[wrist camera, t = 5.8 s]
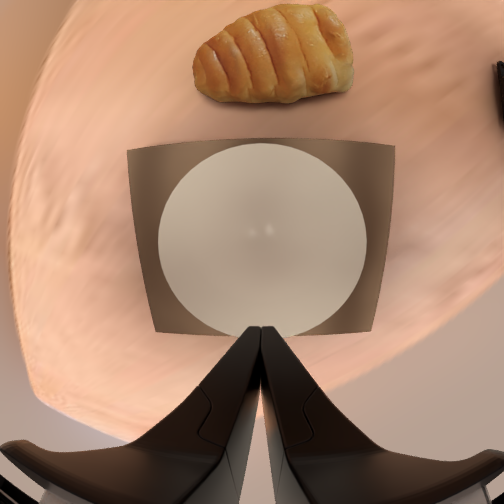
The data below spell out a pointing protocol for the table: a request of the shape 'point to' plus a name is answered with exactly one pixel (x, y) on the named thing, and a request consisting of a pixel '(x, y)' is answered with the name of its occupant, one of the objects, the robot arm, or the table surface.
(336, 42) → the pastry
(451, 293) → the table surface
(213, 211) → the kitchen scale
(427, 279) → the table surface
